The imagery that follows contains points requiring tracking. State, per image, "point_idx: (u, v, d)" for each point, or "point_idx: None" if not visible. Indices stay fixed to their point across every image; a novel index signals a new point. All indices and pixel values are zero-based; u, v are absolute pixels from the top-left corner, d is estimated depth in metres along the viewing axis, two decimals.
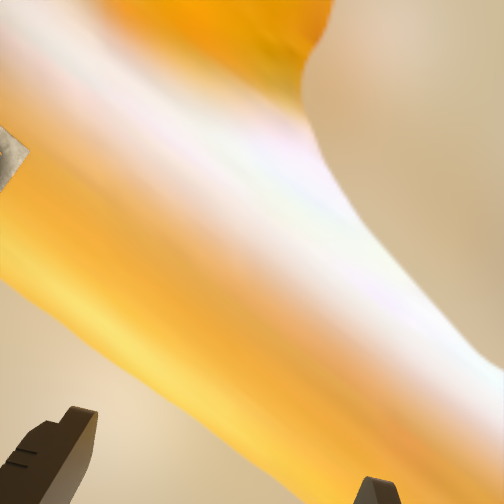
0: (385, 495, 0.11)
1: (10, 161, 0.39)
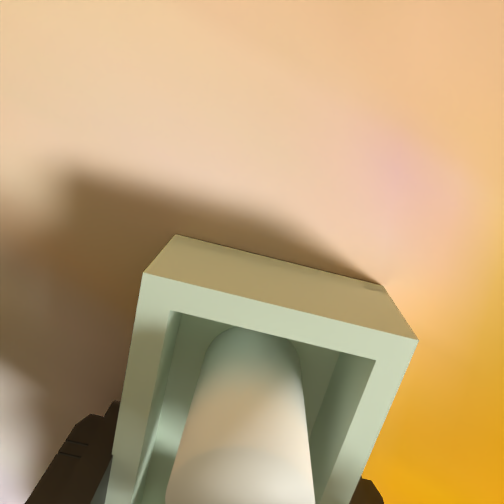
0: None
1: None
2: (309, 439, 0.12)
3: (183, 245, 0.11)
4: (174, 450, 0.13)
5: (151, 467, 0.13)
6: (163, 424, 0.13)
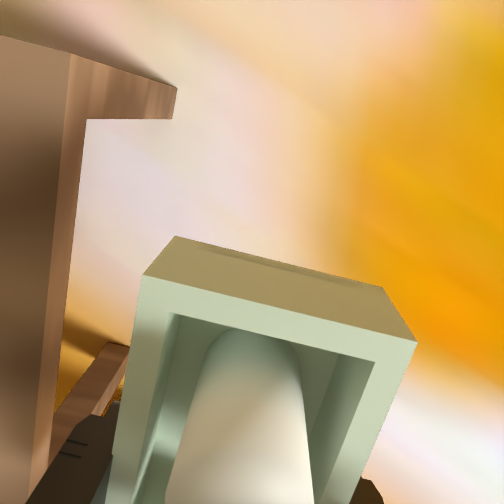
0: None
1: None
2: (309, 440, 0.13)
3: (183, 247, 0.11)
4: (174, 451, 0.13)
5: (151, 468, 0.13)
6: (163, 425, 0.13)
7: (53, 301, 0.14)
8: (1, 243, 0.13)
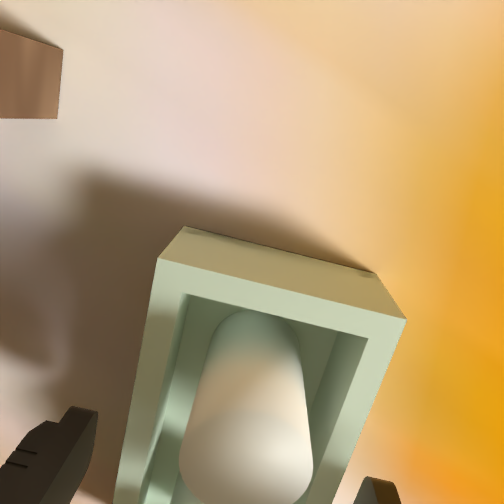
0: (385, 495, 0.11)
1: None
2: (308, 418, 0.13)
3: (192, 235, 0.12)
4: (182, 429, 0.14)
5: (160, 445, 0.14)
6: (171, 404, 0.14)
7: None
8: None
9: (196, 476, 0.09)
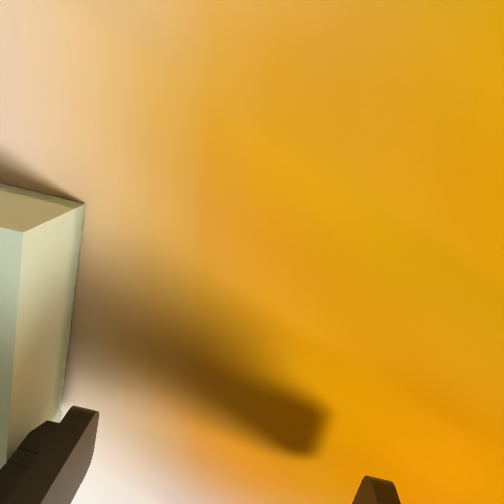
0: (384, 494, 0.11)
1: None
2: None
3: None
4: None
5: None
6: None
7: None
8: None
9: None
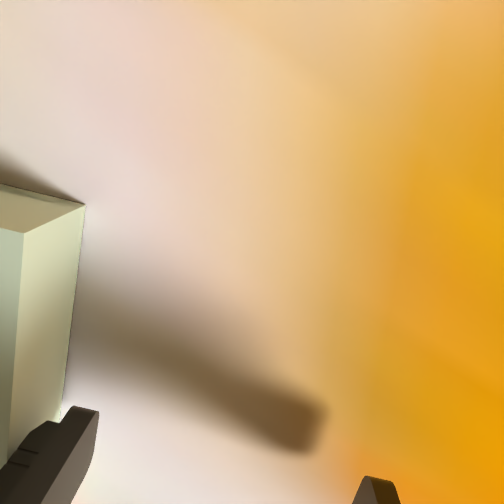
0: (384, 494, 0.11)
1: None
2: None
3: None
4: None
5: None
6: None
7: None
8: None
9: None
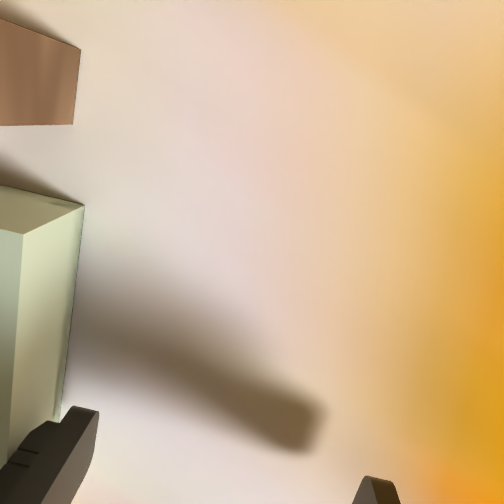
0: (384, 494, 0.11)
1: None
2: None
3: None
4: None
5: None
6: None
7: None
8: None
9: None
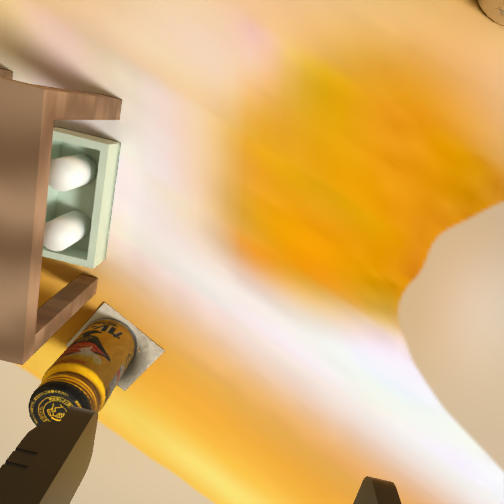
0: (385, 495, 0.11)
1: (146, 358, 0.46)
2: None
3: (59, 128, 0.38)
4: (63, 201, 0.40)
5: (56, 208, 0.41)
6: (58, 191, 0.40)
7: (38, 214, 0.28)
8: (11, 182, 0.27)
9: (49, 179, 0.35)
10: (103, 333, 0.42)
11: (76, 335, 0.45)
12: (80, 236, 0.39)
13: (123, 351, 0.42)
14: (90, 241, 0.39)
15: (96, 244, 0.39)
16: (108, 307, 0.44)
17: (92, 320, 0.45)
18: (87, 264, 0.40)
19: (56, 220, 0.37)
